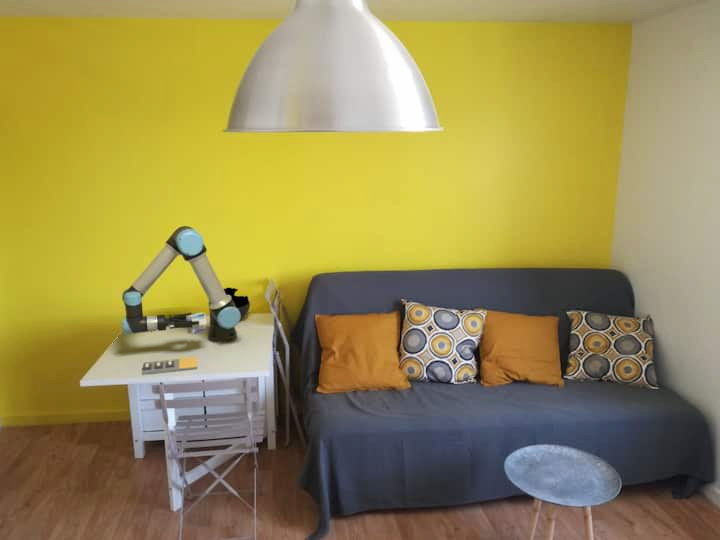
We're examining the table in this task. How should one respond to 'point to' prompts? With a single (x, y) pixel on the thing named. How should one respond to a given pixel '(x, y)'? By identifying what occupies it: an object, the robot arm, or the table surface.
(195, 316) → the medicine box
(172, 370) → the breaker panel
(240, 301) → the bowl of black rocks
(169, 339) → the table surface
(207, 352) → the table surface
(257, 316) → the table surface
